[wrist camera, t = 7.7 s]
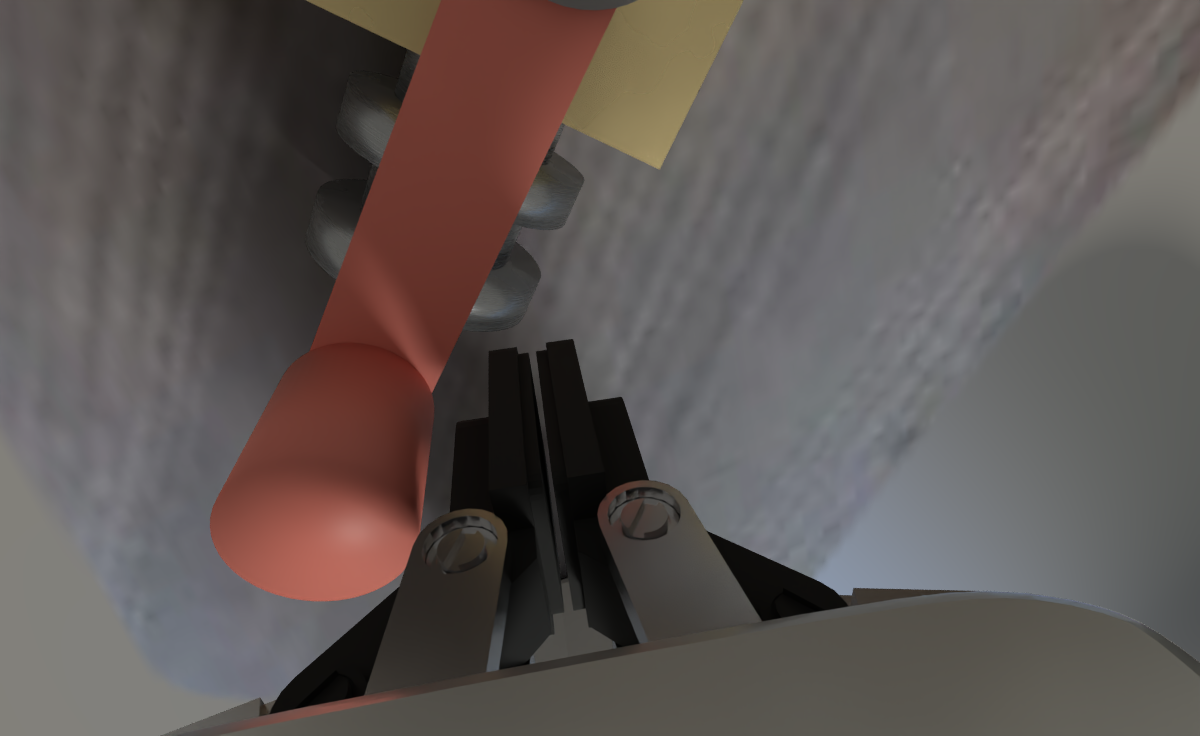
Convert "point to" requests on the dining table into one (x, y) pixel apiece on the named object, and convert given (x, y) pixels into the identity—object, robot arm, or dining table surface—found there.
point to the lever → (403, 303)
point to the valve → (599, 109)
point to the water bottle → (571, 633)
